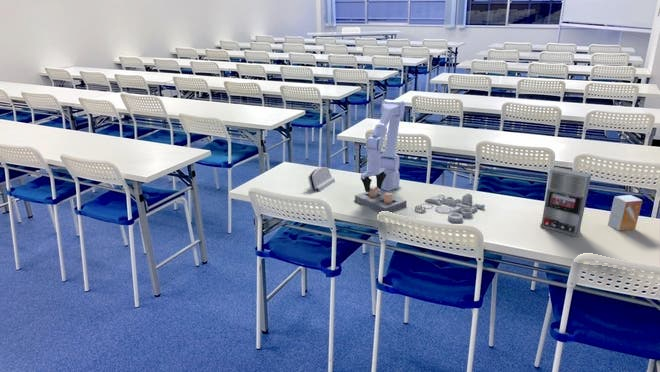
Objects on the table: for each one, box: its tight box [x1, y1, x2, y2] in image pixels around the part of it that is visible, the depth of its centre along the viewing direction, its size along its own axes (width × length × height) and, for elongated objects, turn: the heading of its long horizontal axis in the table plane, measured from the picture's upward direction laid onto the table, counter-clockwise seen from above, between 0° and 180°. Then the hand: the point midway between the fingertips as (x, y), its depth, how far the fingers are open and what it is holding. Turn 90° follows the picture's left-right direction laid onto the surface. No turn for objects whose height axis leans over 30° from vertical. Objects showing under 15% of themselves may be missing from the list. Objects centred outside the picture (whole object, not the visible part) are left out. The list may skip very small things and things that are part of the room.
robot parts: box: [414, 193, 485, 223], centre depth 212 cm, size 25×25×5 cm
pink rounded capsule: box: [369, 185, 378, 198], centre depth 222 cm, size 4×4×6 cm
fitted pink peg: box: [384, 192, 394, 205], centre depth 215 cm, size 4×4×6 cm
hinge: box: [307, 166, 336, 192], centre depth 240 cm, size 17×5×10 cm, turn 151°
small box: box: [607, 194, 643, 232], centre depth 192 cm, size 8×6×13 cm
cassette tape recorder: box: [539, 166, 592, 237], centre depth 188 cm, size 14×6×25 cm, turn 49°
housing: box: [354, 188, 407, 212], centre depth 219 cm, size 20×14×2 cm
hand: (373, 189), depth 221 cm, fingers open, 7 cm apart
